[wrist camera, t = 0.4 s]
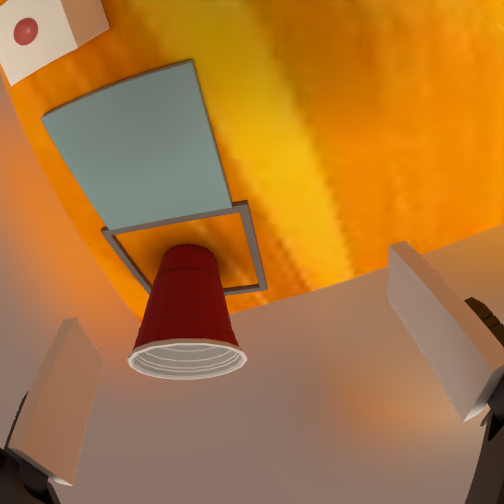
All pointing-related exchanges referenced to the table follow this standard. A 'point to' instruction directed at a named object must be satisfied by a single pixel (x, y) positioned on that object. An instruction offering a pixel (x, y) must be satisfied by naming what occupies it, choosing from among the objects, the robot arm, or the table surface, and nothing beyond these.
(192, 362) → the plastic cup
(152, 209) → the pad
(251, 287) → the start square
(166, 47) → the table surface
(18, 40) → the die
